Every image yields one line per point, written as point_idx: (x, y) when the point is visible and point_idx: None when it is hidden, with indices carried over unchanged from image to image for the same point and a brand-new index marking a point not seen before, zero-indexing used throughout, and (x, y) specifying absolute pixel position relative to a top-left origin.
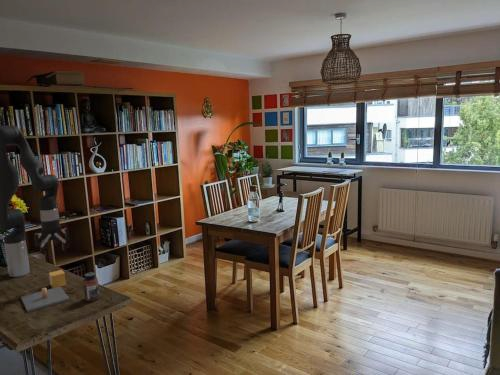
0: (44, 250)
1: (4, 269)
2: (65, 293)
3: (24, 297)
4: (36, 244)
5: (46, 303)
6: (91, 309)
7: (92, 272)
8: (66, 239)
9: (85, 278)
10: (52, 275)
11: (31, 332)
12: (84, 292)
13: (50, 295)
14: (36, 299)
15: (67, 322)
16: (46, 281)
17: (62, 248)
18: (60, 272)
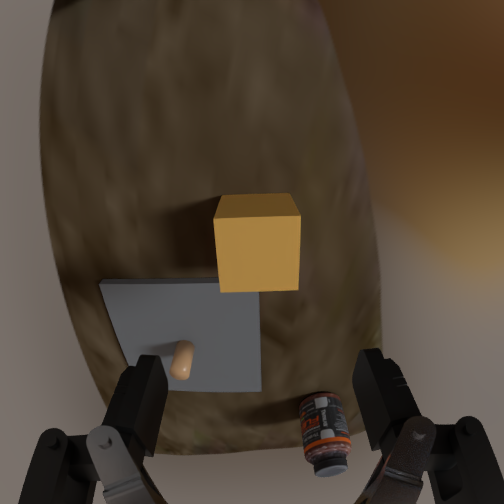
0: (159, 426)
1: None
2: (259, 358)
3: (112, 301)
4: (73, 484)
5: (190, 386)
6: (291, 436)
7: (344, 467)
8: (429, 466)
9: (314, 465)
10: (226, 284)
11: (163, 443)
12: (301, 427)
13: (205, 343)
14: (157, 344)
15: (231, 450)
16: (210, 127)
17: (366, 360)
18: (279, 263)
